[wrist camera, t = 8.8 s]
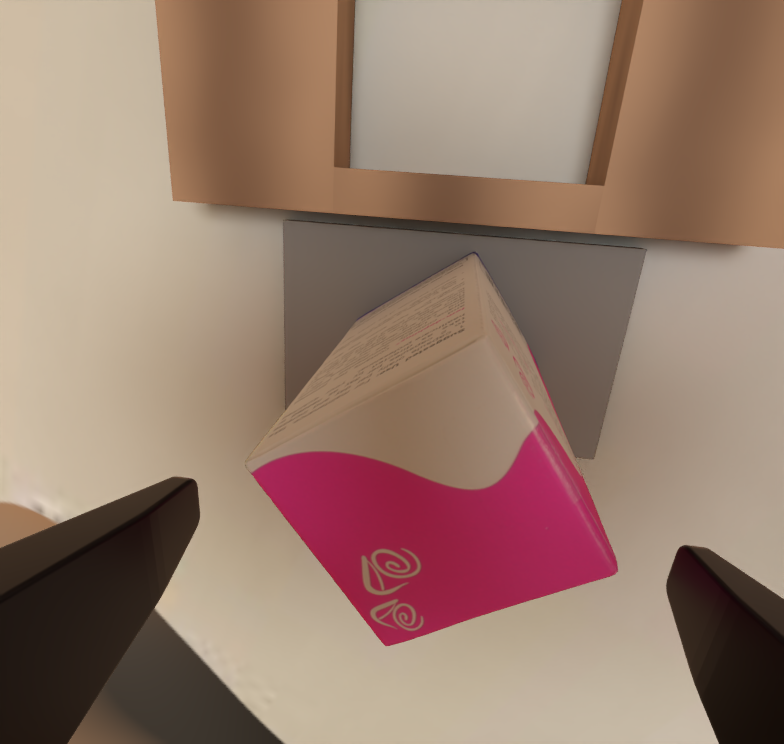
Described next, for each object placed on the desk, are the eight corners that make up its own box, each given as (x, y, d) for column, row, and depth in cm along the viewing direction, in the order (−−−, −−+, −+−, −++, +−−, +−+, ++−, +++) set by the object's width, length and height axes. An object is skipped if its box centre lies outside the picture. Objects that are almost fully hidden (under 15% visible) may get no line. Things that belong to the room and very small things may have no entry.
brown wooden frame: (881, -194, 13) (970, -277, 11) (741, 242, 18) (785, 248, 15) (181, -190, 15) (132, -259, 13) (206, 200, 20) (173, 200, 17)
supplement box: (350, 321, 20) (229, 461, 9) (476, 247, 18) (502, 316, 8) (419, 429, 21) (382, 660, 11) (542, 370, 20) (643, 574, 9)
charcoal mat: (640, 247, 18) (646, 249, 18) (590, 452, 21) (593, 459, 21) (288, 219, 19) (283, 220, 19) (289, 415, 23) (285, 421, 22)
